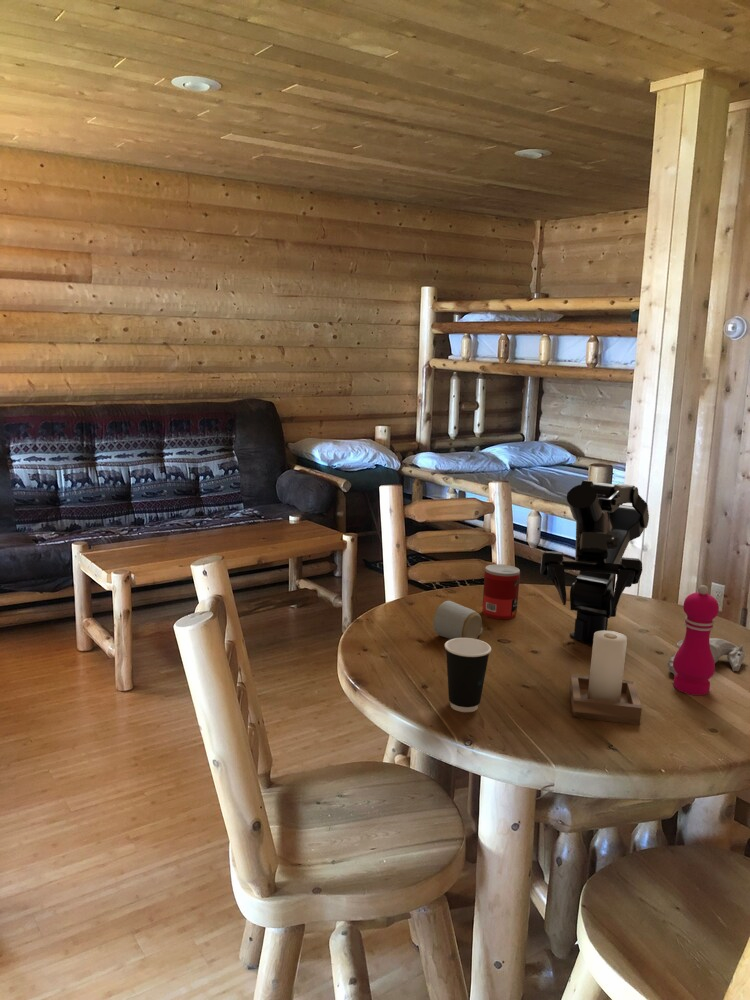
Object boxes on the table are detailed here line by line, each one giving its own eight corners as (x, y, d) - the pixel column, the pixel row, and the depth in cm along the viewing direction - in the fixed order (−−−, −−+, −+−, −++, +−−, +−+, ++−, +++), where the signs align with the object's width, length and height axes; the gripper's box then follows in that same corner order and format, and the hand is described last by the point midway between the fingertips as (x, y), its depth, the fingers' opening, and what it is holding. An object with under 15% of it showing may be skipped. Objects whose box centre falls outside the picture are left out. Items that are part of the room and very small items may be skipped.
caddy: (569, 689, 146) (570, 674, 145) (631, 696, 144) (633, 681, 143) (572, 716, 135) (573, 700, 135) (639, 724, 133) (641, 708, 133)
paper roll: (594, 691, 143) (600, 627, 141) (624, 700, 140) (631, 635, 138) (582, 701, 139) (589, 636, 136) (613, 711, 136) (620, 644, 133)
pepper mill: (664, 680, 152) (675, 579, 148) (700, 680, 152) (713, 579, 148) (680, 696, 145) (693, 591, 141) (719, 696, 145) (732, 591, 141)
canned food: (519, 620, 182) (522, 574, 179) (484, 619, 182) (487, 572, 180) (513, 609, 189) (517, 564, 187) (480, 608, 189) (483, 563, 187)
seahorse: (714, 687, 147) (758, 647, 160) (659, 650, 154) (706, 614, 167) (703, 707, 150) (748, 666, 163) (650, 670, 156) (697, 633, 169)
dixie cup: (434, 697, 141) (438, 638, 139) (476, 694, 143) (480, 636, 141) (450, 718, 133) (454, 656, 131) (494, 714, 135) (498, 653, 133)
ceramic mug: (463, 649, 163) (465, 613, 162) (431, 638, 168) (433, 604, 167) (491, 637, 171) (494, 602, 170) (459, 627, 176) (462, 594, 175)
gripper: (545, 510, 154) (542, 581, 146) (646, 518, 151) (648, 591, 142) (541, 540, 163) (538, 609, 155) (636, 548, 160) (638, 618, 151)
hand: (589, 606), depth 151 cm, fingers open, 9 cm apart
